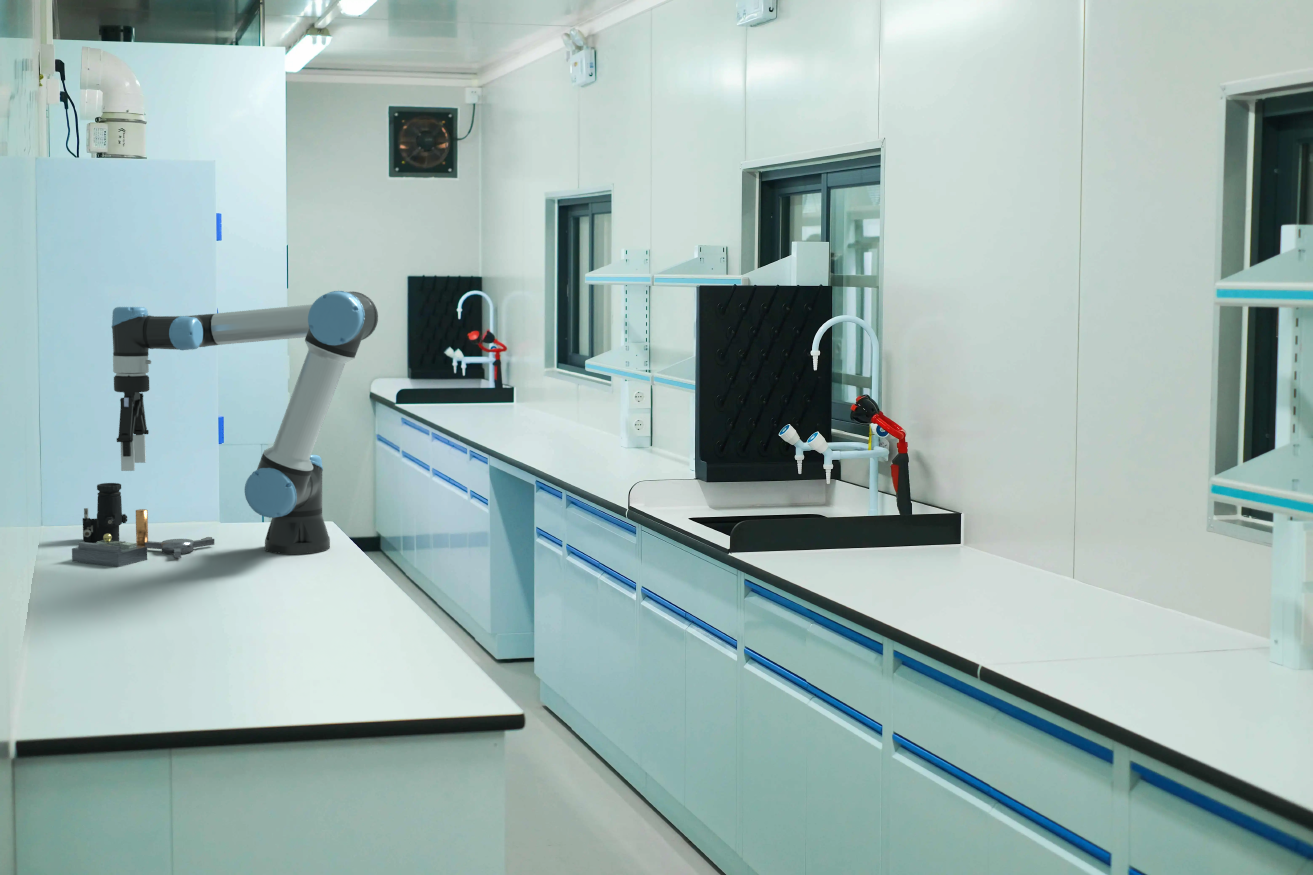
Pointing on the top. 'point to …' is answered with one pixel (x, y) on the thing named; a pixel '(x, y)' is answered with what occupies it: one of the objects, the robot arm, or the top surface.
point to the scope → (105, 514)
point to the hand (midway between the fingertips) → (133, 466)
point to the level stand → (109, 552)
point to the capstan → (168, 545)
